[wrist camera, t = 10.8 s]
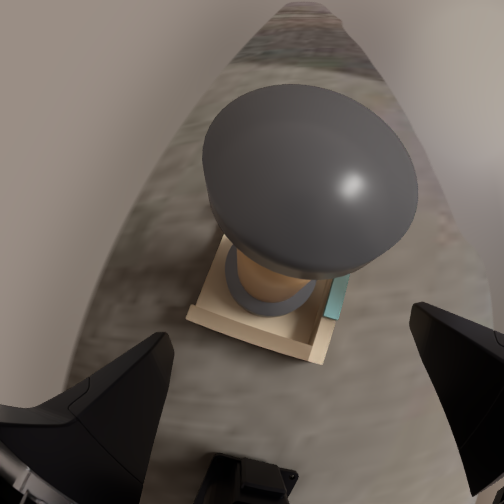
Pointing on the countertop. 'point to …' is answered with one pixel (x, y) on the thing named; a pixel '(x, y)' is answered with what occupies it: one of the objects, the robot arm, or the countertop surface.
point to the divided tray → (277, 328)
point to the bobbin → (303, 191)
